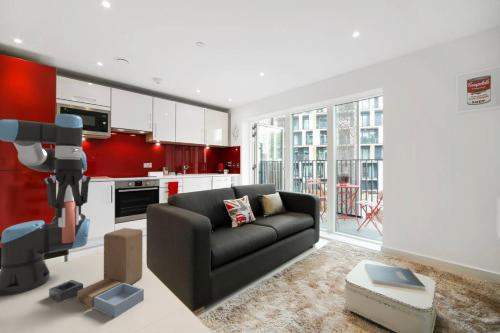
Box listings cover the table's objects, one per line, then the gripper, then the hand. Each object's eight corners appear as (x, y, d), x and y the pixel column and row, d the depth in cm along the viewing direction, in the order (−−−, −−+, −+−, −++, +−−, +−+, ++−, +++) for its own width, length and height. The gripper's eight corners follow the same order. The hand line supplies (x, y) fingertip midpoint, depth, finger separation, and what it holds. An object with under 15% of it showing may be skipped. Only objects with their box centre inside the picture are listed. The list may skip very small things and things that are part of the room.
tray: (94, 308, 72) (94, 297, 72) (123, 292, 82) (123, 282, 82) (115, 317, 68) (115, 305, 68) (143, 299, 77) (143, 289, 77)
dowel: (59, 242, 79) (60, 202, 79) (71, 239, 82) (71, 200, 82) (65, 243, 77) (65, 202, 77) (77, 240, 80) (77, 201, 80)
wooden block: (123, 290, 83) (124, 236, 83) (102, 286, 86) (102, 233, 86) (143, 277, 93) (143, 229, 93) (123, 274, 95) (123, 227, 95)
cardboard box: (77, 302, 76) (77, 290, 76) (107, 288, 85) (107, 277, 85) (91, 309, 73) (91, 296, 73) (121, 293, 82) (121, 282, 82)
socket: (49, 297, 78) (49, 288, 78) (71, 287, 85) (71, 279, 85) (60, 302, 75) (60, 293, 75) (83, 292, 82) (83, 283, 82)
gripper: (45, 157, 71) (44, 232, 71) (99, 159, 86) (99, 221, 85) (33, 158, 74) (33, 229, 74) (87, 159, 89) (87, 219, 89)
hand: (68, 225), depth 80 cm, fingers closed on dowel, 3 cm apart
